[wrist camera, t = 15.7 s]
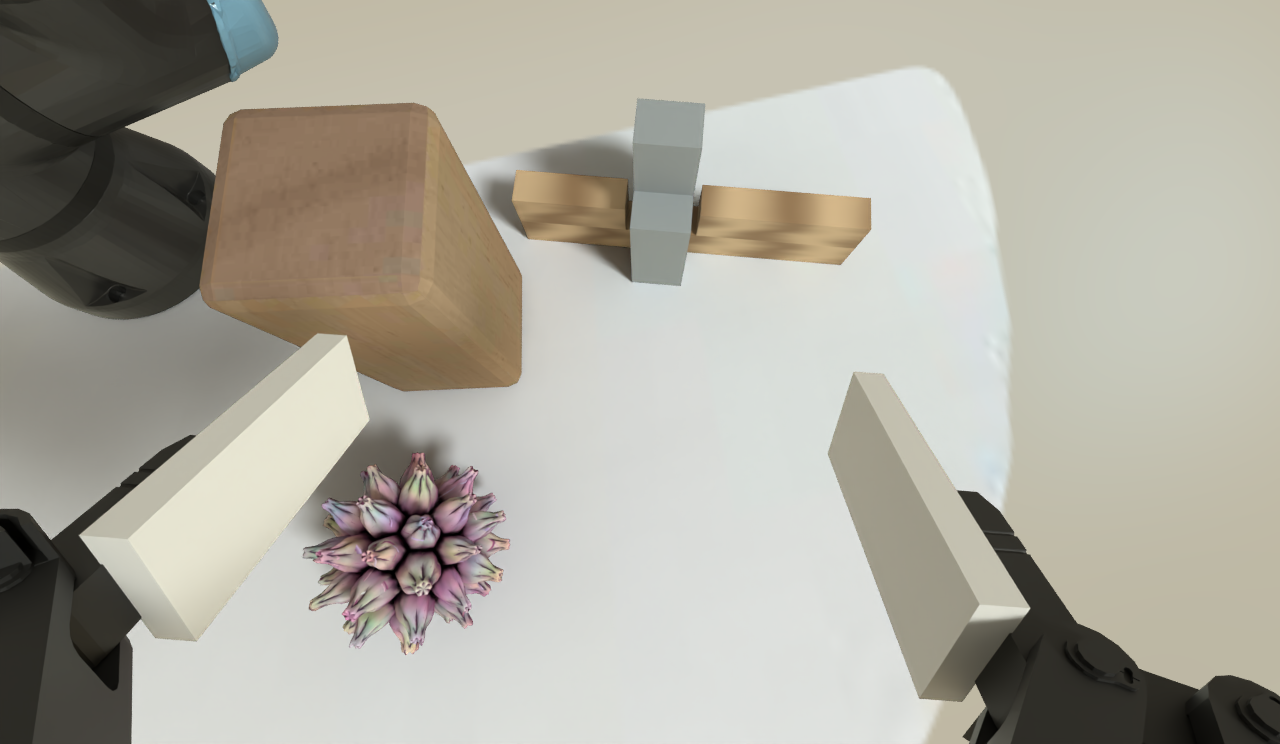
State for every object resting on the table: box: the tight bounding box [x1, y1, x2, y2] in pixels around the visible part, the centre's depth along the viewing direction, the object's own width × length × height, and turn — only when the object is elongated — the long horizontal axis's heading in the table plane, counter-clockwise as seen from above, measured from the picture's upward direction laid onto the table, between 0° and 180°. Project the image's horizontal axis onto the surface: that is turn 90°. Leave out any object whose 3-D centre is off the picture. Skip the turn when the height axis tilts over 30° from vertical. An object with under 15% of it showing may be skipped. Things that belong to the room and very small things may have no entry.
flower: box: [303, 452, 510, 655], centre depth 34 cm, size 12×12×12 cm
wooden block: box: [199, 103, 522, 391], centre depth 33 cm, size 10×10×20 cm
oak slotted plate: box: [512, 170, 871, 265], centre depth 42 cm, size 26×2×6 cm, turn 85°
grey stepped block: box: [630, 99, 705, 286], centre depth 38 cm, size 8×4×14 cm, turn 175°
